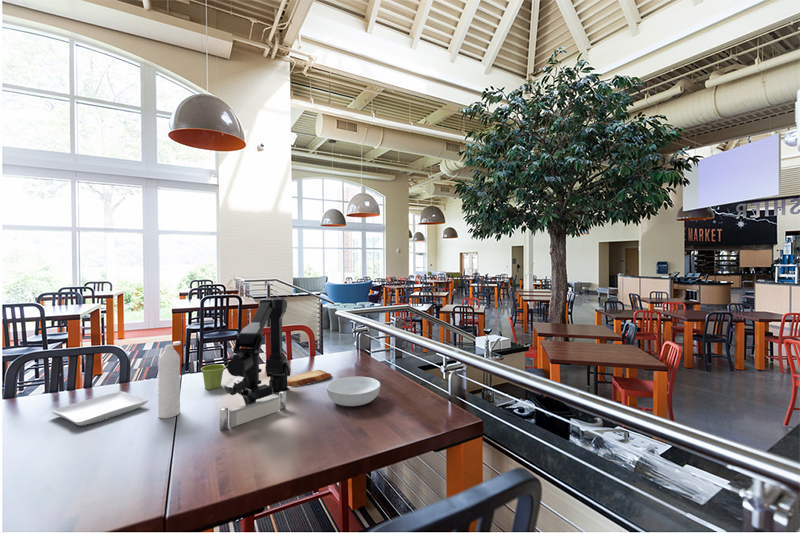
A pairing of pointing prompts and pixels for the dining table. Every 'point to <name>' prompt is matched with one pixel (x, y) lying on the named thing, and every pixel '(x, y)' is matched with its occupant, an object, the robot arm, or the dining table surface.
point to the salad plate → (100, 408)
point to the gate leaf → (253, 411)
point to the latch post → (223, 418)
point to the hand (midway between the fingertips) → (249, 411)
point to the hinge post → (282, 400)
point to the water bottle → (169, 382)
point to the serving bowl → (353, 390)
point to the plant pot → (213, 375)
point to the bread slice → (308, 378)
